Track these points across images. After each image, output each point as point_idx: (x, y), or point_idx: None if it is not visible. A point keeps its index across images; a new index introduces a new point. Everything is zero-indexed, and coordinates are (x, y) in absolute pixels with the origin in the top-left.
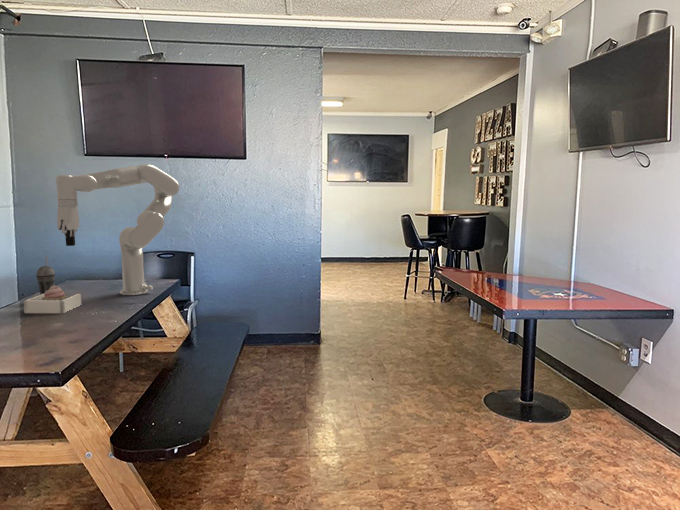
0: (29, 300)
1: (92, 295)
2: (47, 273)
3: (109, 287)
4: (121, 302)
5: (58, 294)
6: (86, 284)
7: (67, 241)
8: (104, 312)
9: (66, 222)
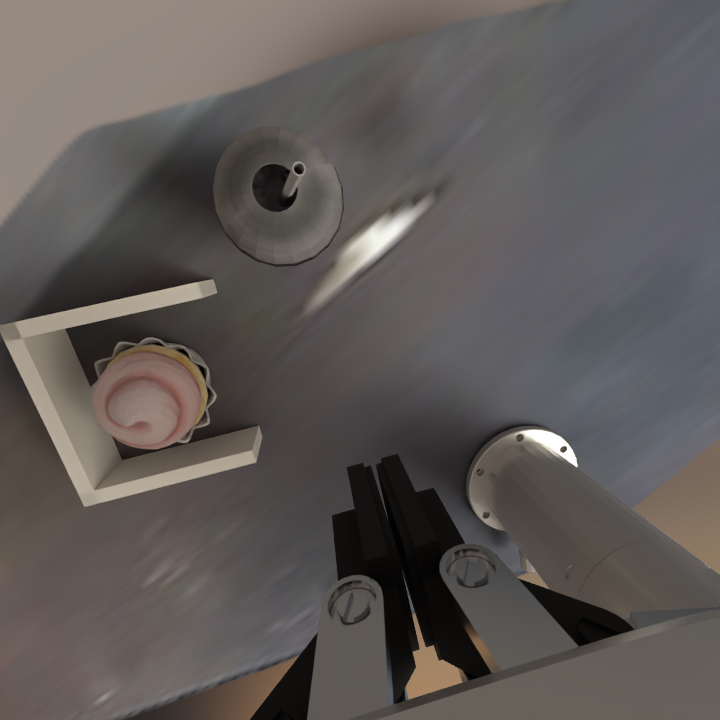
0: (20, 347)
1: (441, 347)
2: (246, 249)
3: (615, 300)
4: None
5: (128, 445)
6: (680, 124)
7: (337, 544)
8: (191, 592)
9: None
